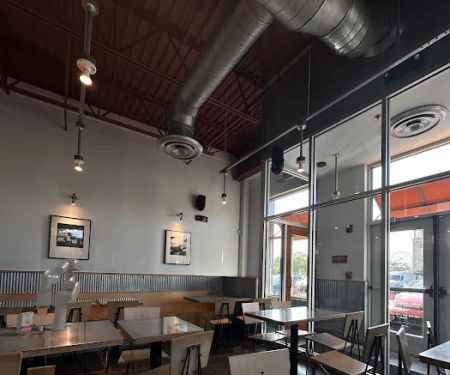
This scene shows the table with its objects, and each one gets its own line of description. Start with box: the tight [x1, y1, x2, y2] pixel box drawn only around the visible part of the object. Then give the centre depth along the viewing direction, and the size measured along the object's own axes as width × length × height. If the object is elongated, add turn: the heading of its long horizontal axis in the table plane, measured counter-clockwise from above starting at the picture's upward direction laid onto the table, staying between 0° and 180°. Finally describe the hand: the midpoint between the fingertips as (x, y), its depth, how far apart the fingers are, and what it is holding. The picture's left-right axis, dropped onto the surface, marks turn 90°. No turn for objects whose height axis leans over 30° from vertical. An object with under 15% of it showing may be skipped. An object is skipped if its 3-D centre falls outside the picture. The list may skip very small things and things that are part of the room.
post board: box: [16, 325, 48, 340], centre depth 272 cm, size 20×20×8 cm
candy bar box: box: [15, 311, 35, 334], centre depth 285 cm, size 11×5×16 cm, turn 161°
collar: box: [36, 307, 48, 317], centre depth 280 cm, size 7×7×5 cm
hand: (42, 313), depth 280 cm, fingers closed on collar, 7 cm apart
